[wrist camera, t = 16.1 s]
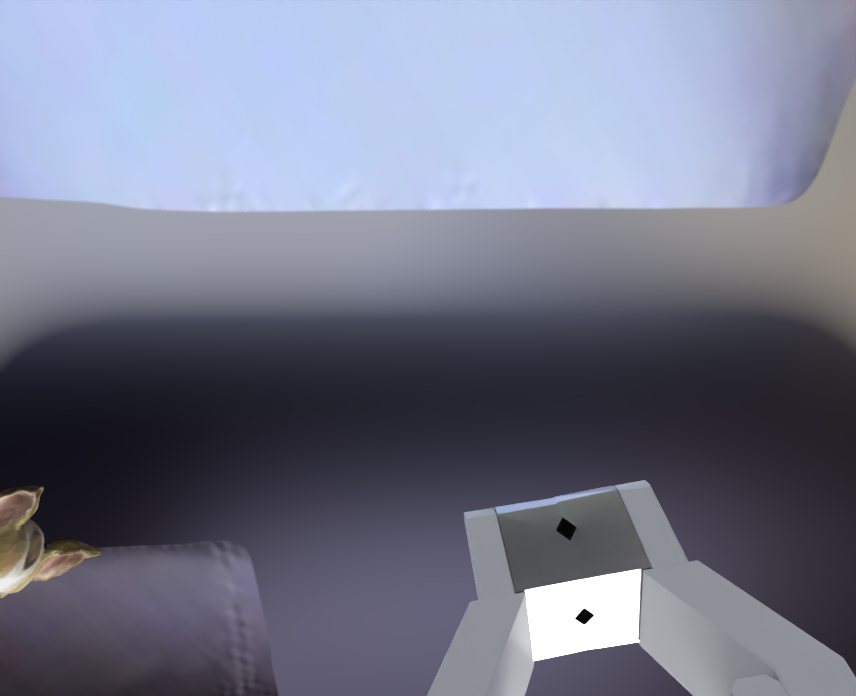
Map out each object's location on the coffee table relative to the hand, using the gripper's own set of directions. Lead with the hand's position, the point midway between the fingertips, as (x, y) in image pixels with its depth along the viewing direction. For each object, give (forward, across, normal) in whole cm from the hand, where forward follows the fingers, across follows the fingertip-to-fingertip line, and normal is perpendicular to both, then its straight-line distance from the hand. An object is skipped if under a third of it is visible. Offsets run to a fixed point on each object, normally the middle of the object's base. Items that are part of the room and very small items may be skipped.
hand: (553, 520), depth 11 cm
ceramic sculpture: (+39, +43, +35) cm, 68 cm away
